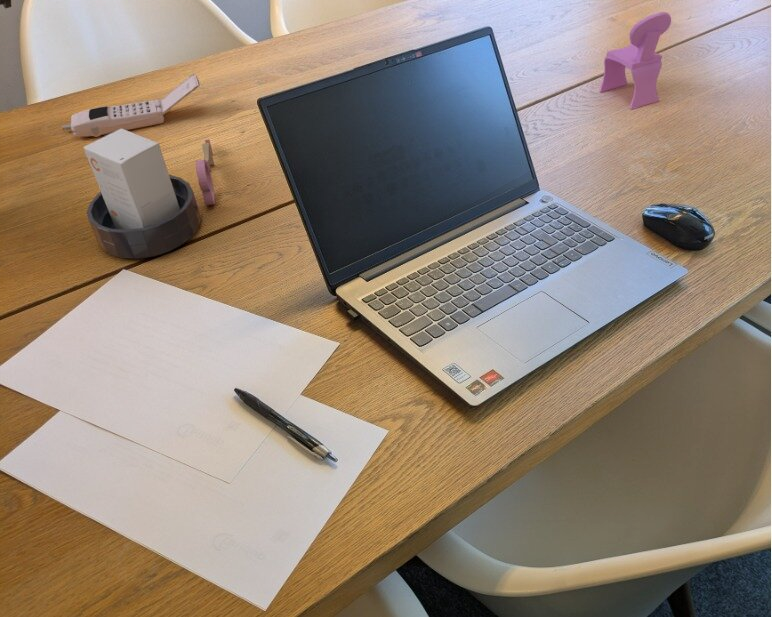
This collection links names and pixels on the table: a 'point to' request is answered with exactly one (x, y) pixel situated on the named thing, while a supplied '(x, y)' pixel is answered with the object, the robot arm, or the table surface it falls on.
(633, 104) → the toy chair
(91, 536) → the table surface
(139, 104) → the mobile phone
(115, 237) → the bowl
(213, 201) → the decorative key
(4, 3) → the robot arm
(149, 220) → the small box
